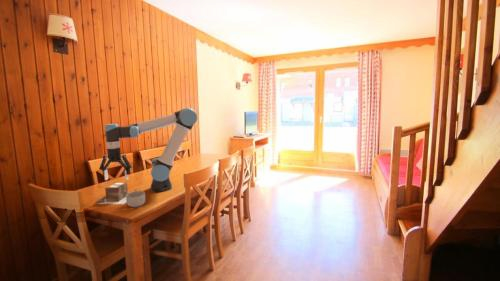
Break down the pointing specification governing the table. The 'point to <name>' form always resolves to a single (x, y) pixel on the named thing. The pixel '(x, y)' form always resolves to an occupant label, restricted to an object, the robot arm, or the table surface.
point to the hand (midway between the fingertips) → (116, 179)
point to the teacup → (135, 198)
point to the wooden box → (116, 192)
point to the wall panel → (103, 201)
